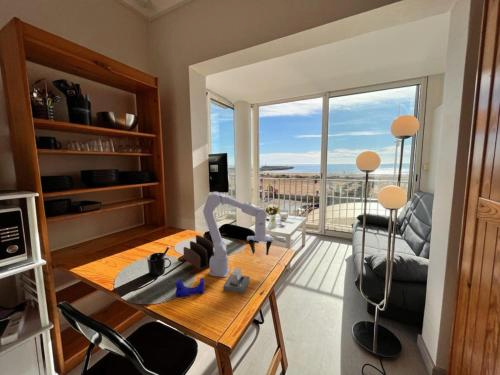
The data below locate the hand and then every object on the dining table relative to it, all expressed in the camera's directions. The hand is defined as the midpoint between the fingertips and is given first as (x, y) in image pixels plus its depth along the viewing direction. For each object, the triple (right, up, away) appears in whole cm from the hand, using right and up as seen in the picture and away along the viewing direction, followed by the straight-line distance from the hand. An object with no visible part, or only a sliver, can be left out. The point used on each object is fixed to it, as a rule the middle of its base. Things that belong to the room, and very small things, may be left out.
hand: (260, 253), depth 114 cm
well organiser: (-12, -12, -13) cm, 21 cm away
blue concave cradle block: (-33, -13, -18) cm, 40 cm away
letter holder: (-37, -9, +12) cm, 40 cm away
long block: (-12, -11, -13) cm, 21 cm away
